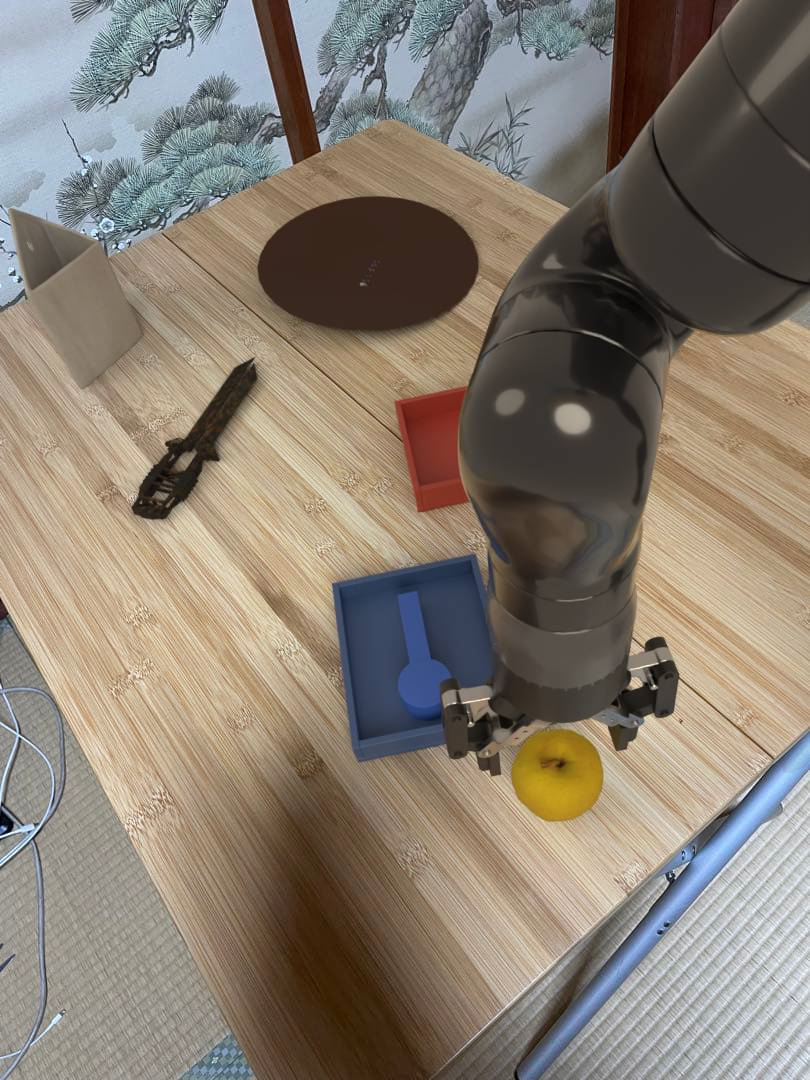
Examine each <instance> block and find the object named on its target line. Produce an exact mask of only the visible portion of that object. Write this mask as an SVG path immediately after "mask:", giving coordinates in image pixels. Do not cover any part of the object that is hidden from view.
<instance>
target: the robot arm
mask: <svg viewBox="0 0 810 1080" xmlns="http://www.w3.org/2000/svg"><path fill="white" fill-rule="evenodd" d="M808 304H810V0H738V1H737V2H736V4H735V5H734V6H733V8H732V9H731V10H730V12H728V14H727V15H726V17H725V19H724V20H723V21H722V22H721V24H720V25H719V26H718V27H717V29H716V31H715V32H714V33H713V34H712V36H711V37H710V38H709V40H708V41H707V42H706V44H705V45H704V47H702V49H701V50H700V52H699V53H698V54H697V55H696V57H695V58H694V60H693V61H692V62H691V63H690V65H689V66H688V67H687V69H686V70H685V71H684V73H683V74H682V75H681V77H680V78H679V80H678V81H677V82H676V83H675V85H674V86H673V87H672V88H671V90H670V91H669V93H668V94H667V95H666V97H665V98H664V100H663V101H662V102H661V103H660V105H659V106H658V107H657V109H656V110H655V111H654V113H653V114H652V115H651V116H650V118H649V120H647V122H646V124H645V125H644V126H643V128H642V129H641V131H640V132H639V134H638V135H637V137H636V138H635V140H634V141H633V143H632V145H631V146H630V148H629V150H628V151H627V153H626V154H625V156H624V157H623V158H622V160H621V161H620V162H619V163H618V164H617V165H616V166H615V167H614V168H613V169H611V170H610V171H609V172H608V173H607V174H605V175H604V176H603V177H602V178H601V179H599V180H598V181H597V182H596V183H595V184H594V185H593V186H592V187H590V188H589V190H588V191H586V193H584V194H583V195H582V196H581V197H580V198H579V199H578V200H577V201H576V202H575V203H574V204H573V205H572V206H571V207H570V208H569V209H568V210H567V211H566V212H565V213H564V214H563V215H562V216H561V217H560V218H559V219H558V220H557V221H556V222H555V223H554V224H553V225H552V226H551V227H550V228H549V230H547V232H546V233H545V234H543V236H542V237H541V238H540V239H539V240H538V242H537V243H535V245H534V246H533V247H532V249H531V250H530V251H529V253H528V254H527V255H526V256H525V258H524V259H523V260H522V261H521V263H520V265H519V266H518V268H517V269H516V270H515V272H514V274H513V275H512V276H511V278H510V279H509V281H508V283H507V284H506V285H505V287H504V289H503V290H502V293H501V295H500V297H499V299H498V301H497V303H496V304H495V307H494V309H493V312H492V315H491V318H490V320H489V323H488V326H487V328H486V332H485V334H484V337H483V340H482V344H481V347H480V349H479V352H478V355H477V358H476V362H475V364H474V367H473V370H472V373H471V375H470V378H469V381H468V384H467V385H466V386H467V389H466V392H465V395H464V398H463V402H462V406H461V411H460V416H459V424H458V463H459V471H460V476H461V481H462V484H463V487H464V490H465V492H466V495H467V497H468V499H469V501H470V502H469V503H470V506H471V508H472V510H473V512H474V514H475V516H476V519H477V520H478V523H479V525H480V527H481V529H482V530H483V533H485V545H486V546H485V547H486V560H487V571H488V580H487V585H486V607H485V622H486V624H487V627H488V631H489V643H490V654H491V665H492V673H491V675H490V676H489V677H488V679H487V680H486V682H485V685H484V686H478V687H472V688H460V683H459V680H457V679H454V678H450V679H446V680H443V681H442V682H441V683H440V684H439V688H440V703H441V717H442V725H443V730H444V735H445V740H446V744H445V745H446V749H447V754H448V758H449V759H450V760H460V759H463V758H465V757H467V756H468V754H469V752H473V753H475V757H476V763H477V766H478V770H480V771H481V772H486V771H489V775H490V777H492V778H493V777H497V776H501V775H502V768H501V757H500V755H501V754H500V751H501V750H502V749H504V748H505V747H506V746H507V747H508V746H509V747H518V746H519V745H520V744H521V743H523V742H525V741H526V740H527V739H528V738H530V737H531V736H532V735H534V734H535V732H537V731H538V730H545V729H546V728H548V727H551V726H554V725H557V724H571V723H578V722H582V721H585V720H586V721H589V720H591V719H592V720H594V721H595V722H599V723H600V724H603V725H606V727H607V730H608V732H609V736H610V739H611V742H612V745H613V747H614V750H615V751H616V752H621V751H627V750H628V748H629V743H631V742H634V741H635V740H636V739H637V736H638V732H639V727H641V726H642V725H643V724H645V721H646V720H645V717H648V716H649V715H654V717H655V718H656V719H664V718H667V717H669V716H671V715H672V714H674V712H675V707H676V702H677V701H676V700H677V695H678V694H677V693H678V687H679V680H680V672H679V670H678V667H677V665H676V662H675V660H674V658H673V655H672V653H671V650H670V648H669V645H668V644H667V640H666V639H665V637H664V636H655V637H652V638H649V639H648V640H646V641H645V643H644V650H643V651H639V652H638V653H636V654H631V647H632V642H633V637H634V630H635V624H636V620H637V619H636V617H637V610H638V609H637V608H638V593H637V591H638V589H637V577H638V572H639V565H640V561H641V559H640V558H641V553H642V544H643V534H644V533H643V532H644V514H645V510H646V506H647V502H648V498H649V493H650V489H651V484H652V480H653V474H654V469H655V464H656V459H657V454H658V448H659V442H660V436H661V431H662V429H661V428H662V423H663V413H664V407H665V399H666V395H667V394H666V393H667V386H668V380H669V373H670V368H671V367H670V366H671V363H672V361H673V359H674V357H676V355H677V354H678V352H679V351H680V350H681V348H682V347H683V346H684V345H685V343H686V342H687V341H688V340H689V339H690V338H691V337H692V336H693V335H694V334H695V333H696V332H698V333H701V334H703V335H707V336H712V337H717V338H744V337H749V336H753V335H757V334H759V333H762V332H765V331H767V330H769V329H771V328H773V327H775V326H777V325H779V324H781V323H782V322H784V321H786V320H787V319H789V318H791V317H792V316H793V315H795V314H796V313H797V312H799V311H801V310H802V309H803V308H804V307H805V306H808ZM630 654H631V655H630ZM632 678H639V680H640V682H641V684H642V686H639V687H637V688H634V689H633V686H632V685H630V684H631V681H632ZM480 709H481V710H480ZM479 710H480V711H479ZM514 721H516V723H514Z"/></svg>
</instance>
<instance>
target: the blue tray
mask: <svg viewBox="0 0 810 1080" xmlns="http://www.w3.org/2000/svg"><path fill="white" fill-rule="evenodd" d="M331 588H332V596H333V605H334V612H335V620H336V628H337V638H338V645H339V653H340V661H341V668H342V677H343V686H344V695H345V701H346V710H347V716H348V717H347V719H348V725H349V734H350V742H351V743H350V744H351V750H352V752H353V754H354V756H355V758H356V761H357V763H362V762H367V761H371V760H376V759H381V758H386V757H390V756H391V757H392V756H396V755H400V754H406V753H410V752H416V751H420V750H426V749H429V748H434V747H440V746H444V745H446V740H445V735H444V730H443V725H442V717H440V718H437V719H434V720H419V719H416V718H414V717H412V716H411V715H410V714H409V713H407V711H406V710H405V708H404V707H403V704H402V701H401V697H400V694H399V690H398V678H399V676H400V674H401V672H402V670H403V669H404V668H405V667H406V666H407V665H408V664H410V662H409V656H408V651H407V646H406V640H405V635H404V629H403V624H402V619H401V613H400V608H399V603H398V597H397V595H399V594H404V593H408V592H413V591H417V592H418V596H419V601H420V605H421V610H422V615H423V620H424V625H425V630H426V635H427V639H428V644H429V649H430V654H431V659H434V660H437V661H439V662H441V663H442V664H444V665H445V666H446V667H447V668H448V670H449V672H450V674H451V677H452V678H454V679H457V680H459V683H460V688H472V687H478V686H484V685H485V682H486V680H487V679H488V677H489V676H490V675H491V673H492V665H491V654H490V643H489V631H488V627H487V624H486V622H485V607H486V592H487V589H486V587H485V582H484V579H483V575H482V572H481V568H480V565H479V561H478V557H477V553H471V554H466V555H461V556H457V557H453V558H452V557H451V558H447V559H442V560H438V561H437V560H436V561H433V562H428V563H422V564H418V565H413V566H408V567H404V568H400V569H394V570H390V571H389V570H388V571H384V572H380V573H375V574H370V575H365V576H360V577H355V578H351V579H346V580H342V581H337V582H333V583H331ZM480 710H481V709H480ZM480 710H479V711H480ZM514 723H516V721H514Z"/></svg>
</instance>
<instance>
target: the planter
mask: <svg viewBox="0 0 810 1080" xmlns="http://www.w3.org/2000/svg"><path fill="white" fill-rule="evenodd" d="M7 215H8V219H9V224H10V228H11V235H12V238H13V243H14V247H15V252H16V257H17V261H18V266H19V271H20V274H21V278H22V282H23V287H24V288H23V289H24V292H25V295H26V297H27V300H28V302H29V303H30V305H31V307H32V308H33V310H34V312H35V314H36V315H37V317H38V319H39V321H40V323H41V324H42V326H43V328H44V329H45V331H46V333H47V334H48V336H49V337H50V340H51V342H52V343H53V345H54V347H55V348H56V350H57V353H58V354H59V356H60V357H61V359H62V361H63V363H64V364H65V367H66V368H67V369H68V371H69V373H70V375H71V376H72V378H73V380H74V381H75V383H76V385H77V387H78V388H79V389H80V390H83V389H85V388H86V387H88V386H89V385H90V384H91V383H92V382H94V381H95V380H96V379H97V378H99V377H100V376H101V375H102V374H103V373H104V372H105V371H107V370H108V369H109V368H110V367H111V366H113V365H114V364H115V363H116V362H117V361H118V360H119V359H120V358H121V357H123V356H124V355H125V354H127V352H128V351H129V350H131V349H132V347H133V346H134V345H136V343H137V342H138V341H140V340H141V338H143V336H144V333H143V331H142V329H141V326H140V324H139V321H138V320H137V318H136V316H135V314H134V311H133V309H132V307H131V305H130V303H129V300H128V299H127V296H126V294H125V292H124V290H123V288H122V286H121V284H120V281H119V279H118V277H117V274H116V273H115V271H114V268H113V266H112V264H111V261H110V259H109V258H108V255H107V253H106V251H105V249H104V247H103V245H102V243H101V241H100V240H99V239H96V238H94V237H92V236H90V235H88V234H85V233H83V232H80V231H77V230H76V229H73V228H70V227H68V226H67V227H66V226H64V225H61V224H58V223H55V222H53V221H49V220H47V219H45V218H43V217H40V216H36V215H33V214H31V213H28V212H25V211H22V210H19V209H16V208H14V207H13V208H12V207H9V208H8V209H7Z"/></svg>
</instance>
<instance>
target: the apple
mask: <svg viewBox="0 0 810 1080" xmlns="http://www.w3.org/2000/svg"><path fill="white" fill-rule="evenodd" d="M510 778H511V785H512V787H513V790H514V792H515V796H516V797H517V800H518V801H520V803H521V804H522V805H523V806H524V807H525V808H527V809H528V810H529V811H530V812H531V813H532V814H534V815H535V816H536V817H538V818H540V819H541V820H543V821H545V822H548V823H553V822H567V821H572V820H575V819H577V818H579V817H581V816H582V815H584V814H585V813H587V812H588V811H590V810H591V808H593V806H594V805H595V804H596V802H597V801H598V799H599V798H600V795H601V792H602V790H603V785H604V767H603V762H602V759H601V755H600V753H599V751H598V749H597V747H596V745H594V744H593V743H592V742H591V741H590V740H589V739H588V738H586V737H585V736H583V735H582V734H581V733H578V732H576V731H574V730H572V729H565V728H556V729H547V730H543V731H538V732H536V733H533V734H532V735H530V736H529V737H528V738H527V739H526V740H524V741H523V744H522V745H521V746H520V748H519V750H518V751H517V753H516V756H515V758H514V760H513V763H512V766H511V770H510Z"/></svg>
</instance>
